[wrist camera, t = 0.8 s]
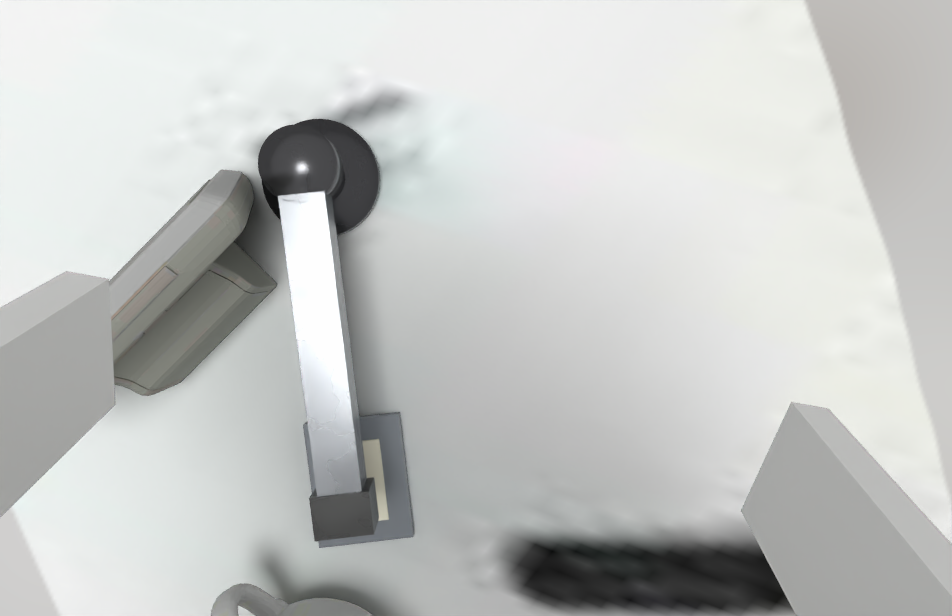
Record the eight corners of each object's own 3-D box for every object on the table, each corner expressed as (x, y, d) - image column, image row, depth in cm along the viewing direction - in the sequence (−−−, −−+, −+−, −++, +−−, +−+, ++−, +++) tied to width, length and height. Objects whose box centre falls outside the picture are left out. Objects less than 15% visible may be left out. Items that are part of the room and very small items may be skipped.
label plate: (413, 532, 40) (413, 538, 39) (321, 543, 40) (318, 549, 39) (399, 412, 40) (398, 415, 39) (305, 422, 39) (302, 426, 39)
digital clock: (250, 159, 38) (172, 120, 27) (333, 281, 39) (288, 290, 28) (32, 303, 38) (-130, 320, 28) (119, 423, 39) (-6, 484, 28)
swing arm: (265, 136, 34) (252, 128, 32) (338, 129, 34) (330, 120, 32) (316, 524, 36) (307, 542, 33) (386, 516, 36) (381, 533, 34)
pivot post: (386, 230, 39) (378, 227, 35) (273, 242, 38) (252, 240, 34) (373, 116, 38) (363, 99, 34) (258, 127, 38) (235, 112, 34)
